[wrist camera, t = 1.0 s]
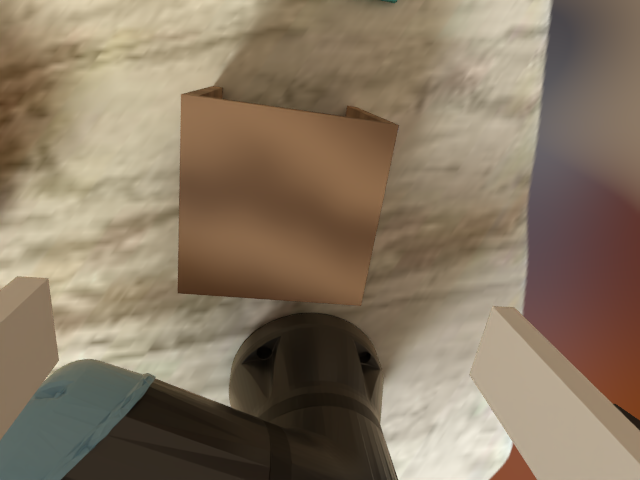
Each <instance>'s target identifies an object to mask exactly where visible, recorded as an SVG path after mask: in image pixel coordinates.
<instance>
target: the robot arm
mask: <svg viewBox="0 0 640 480" xmlns="http://www.w3.org/2000/svg"><path fill="white" fill-rule="evenodd" d="M58 361H59V358H58V350H57V342H56V334H55V327H54V319H53V311H52V304H51V296H50V288H49V280H48V278H34V277H18V276H17V277H16V278H15V279H14V280H12V281H11V282H10V283H9V284H7V285H6V286H5V287H4V288H2V289H1V290H0V480H398V478H397V475H396V472H395V469H394V466H393V463H392V460H391V457H390V454H389V451H388V447H387V444H386V441H385V439H384V436H383V432H382V429H381V425H380V421H381V407H382V394H383V374H382V368H381V365H380V362H379V359H378V357H377V354H376V351H375V349H374V347H373V345H372V343H371V341H370V340H369V339H368V337H367V336H366V335H365V334H364V333H363V332H362V331H361V330H360V329H358V328H357V327H356V326H354V325H353V324H351V323H349V322H347V321H345V320H343V319H340V318H337V317H334V316H330V315H325V314H317V313H304V314H296V315H290V316H286V317H283V318H280V319H277V320H275V321H272V322H270V323H268V324H266V325H264V326H263V327H261V328H260V329H258V330H257V331H255V332H254V333H253V334H252V335H251V336H250V337H249V338H248V339H247V340H246V341H245V342H244V343H243V344H242V346H241V347H240V349H239V350H238V352H237V354H236V356H235V358H234V361H233V364H232V368H231V375H230V383H229V399H230V404H231V407H229V406H226V405H223V404H221V403H218V402H215V401H213V400H210V399H207V398H205V397H202V396H200V395H197V394H194V393H192V392H189V391H186V390H184V389H181V388H178V387H176V386H173V385H171V384H168V383H165V382H163V381H160V380H157V379H155V376H153V375H151V374H149V373H146V374H143V375H142V374H139V373H136V372H133V371H130V370H127V369H123V368H120V367H117V366H114V365H111V364H108V363H105V362H102V361H98V360H93V359H83V360H78V361H75V362H71V363H69V364H67V365H65V366H63V367H61V368H60V369H58V370H57V371H55V372H54V373H53V374H52V375H50V376H49V377H48V378H47V379H46V377H47V376H48V375H49V373H50V372H51V370H52V369H53V368H54V366H55V365H56V364H57V362H58ZM469 375H470V376H471V378H472V380H473V381H474V383H475V384H476V386H477V387H478V389H479V390H480V392H481V393H482V395H483V397H484V398H485V400H486V401H487V403H488V404H489V406H490V407H491V409H492V410H493V412H494V414H495V415H496V417H497V418H498V420H499V421H500V423H501V424H502V426H503V427H504V429H505V431H506V432H507V434H508V435H509V437H510V438H511V440H512V441H513V443H514V444H515V446H516V447H517V449H518V451H519V452H520V454H521V455H522V457H523V458H524V459H525V461H526V463H527V464H528V466H529V467H530V469H531V471H532V472H533V474H534V475H535V477H536V478H537V480H640V420H638V419H637V418H635V417H634V416H632V415H631V414H629V413H628V412H626V411H625V410H624V409H622V408H621V407H619V406H618V405H616V404H612V403H611V402H610V401H609V400H608V399H607V398H606V397H605V396H604V395H603V394H602V393H601V392H600V391H599V390H598V389H597V388H596V387H595V386H594V385H593V384H592V383H591V382H590V381H589V380H588V379H587V378H586V377H585V376H583V375H582V374H581V373H580V372H579V371H578V370H577V369H576V368H575V367H574V366H573V365H572V364H571V363H570V362H569V361H568V360H567V359H566V358H565V357H564V356H563V355H562V354H561V353H560V352H559V351H558V350H557V349H556V348H555V347H554V346H553V345H552V344H551V343H550V342H549V341H548V340H547V339H546V338H545V337H544V336H543V335H542V334H540V333H539V331H538V330H537V329H536V328H535V327H533V325H531V323H529V322H528V321H527V320H526V319H525V318H524V317H523V316H522V315H521V314H520V313H519V312H518V311H517V310H516V309H515V308H512V307H496V306H492V309H491V312H490V315H489V318H488V321H487V324H486V327H485V330H484V333H483V336H482V339H481V342H480V345H479V348H478V351H477V354H476V357H475V360H474V362H473V365H472V368H471V371H470V374H469ZM45 379H46V380H45ZM44 380H45V381H44ZM43 381H44V382H43Z"/></svg>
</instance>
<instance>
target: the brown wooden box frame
mask: <svg viewBox="0 0 640 480" xmlns="http://www.w3.org/2000/svg"><path fill="white" fill-rule="evenodd" d="M222 92H223V88H222V87H215V86H212V87H208V88H204V89H200V90H196V91H192V92H188V93H184V94H181V138H180V195H179V251H178V293H182V294H197V295H211V296H226V297H240V298H255V299H270V300H284V301H299V302H314V303H328V304H343V305H358V306H361V303H362V298H363V293H364V289H365V284H366V279H367V274H368V270H369V265H370V260H371V255H372V251H373V246H374V241H375V236H376V231H377V227H378V222H379V217H380V212H381V208H382V203H383V198H384V193H385V189H386V184H387V179H388V174H389V169H390V165H391V160H392V155H393V150H394V146H395V141H396V136H397V131H398V127H399V125H397V124H395V123H392V122H390V121H388V120H385V119H383V118H380V117H378V116H376V115H373V114H371V113H369V112H366V111H364V110H361V109H359V108H357V107H351V106H347V111H346V117H345V116H338V115H331V114H324V113H317V112H310V111H303V110H296V109H289V108H282V107H275V106H268V105H261V104H254V103H247V102H240V101H233V100H226V99H222Z"/></svg>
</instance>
